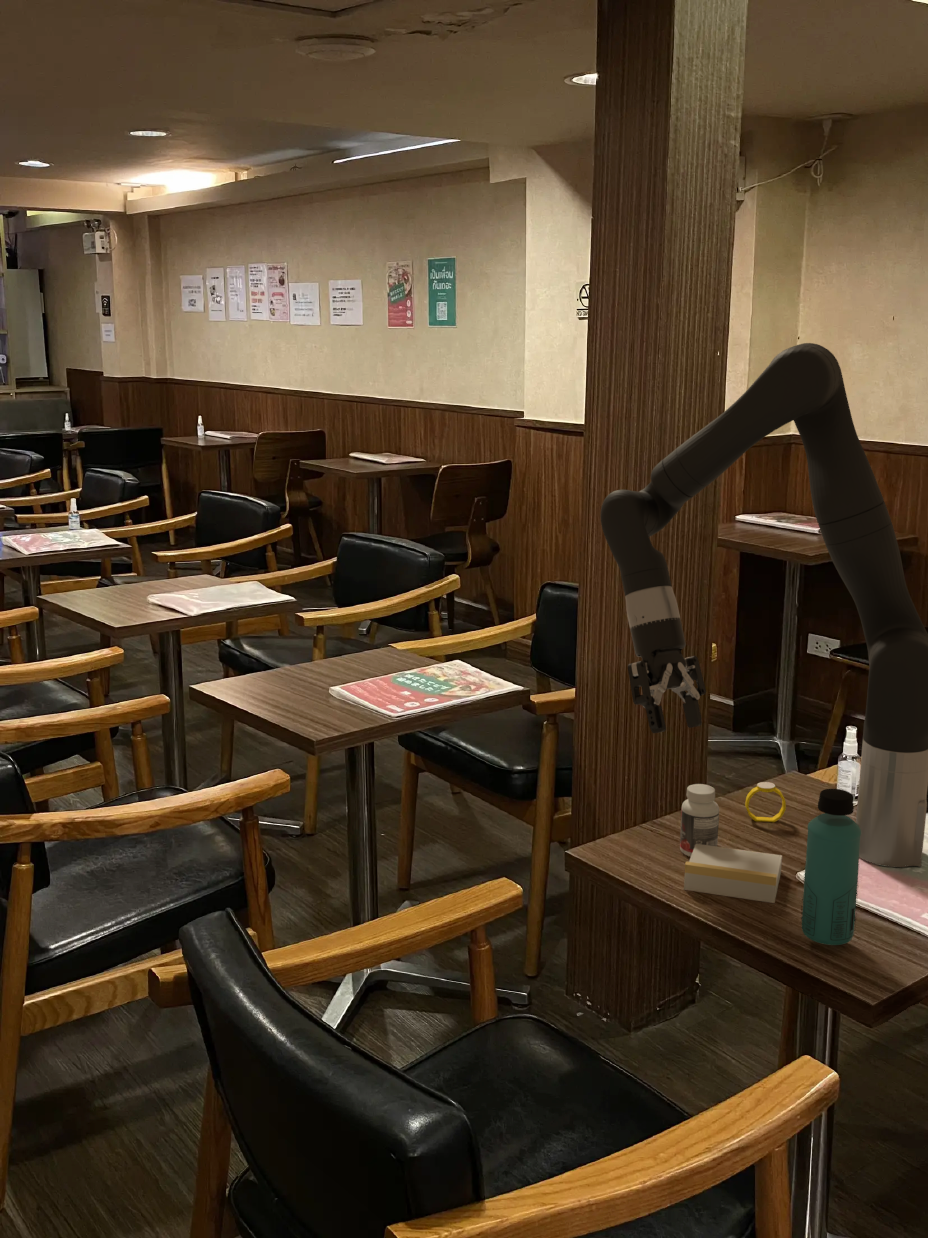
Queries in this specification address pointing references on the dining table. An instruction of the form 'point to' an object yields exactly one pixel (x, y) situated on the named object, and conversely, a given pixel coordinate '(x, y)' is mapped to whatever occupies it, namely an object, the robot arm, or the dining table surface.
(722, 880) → the dock
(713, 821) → the pill bottle
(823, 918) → the beverage bottle
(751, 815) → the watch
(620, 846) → the dining table surface
